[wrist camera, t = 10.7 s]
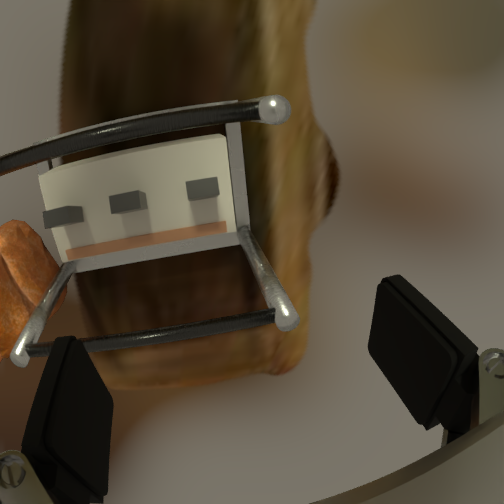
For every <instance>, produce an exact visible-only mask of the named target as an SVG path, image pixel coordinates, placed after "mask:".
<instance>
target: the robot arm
mask: <svg viewBox="0 0 504 504" xmlns="http://www.w3.org/2000/svg"><path fill="white" fill-rule="evenodd" d="M368 350H369V353H370V355H371V357H372V358H373V360H374V361H375V362H376V364H377V365H378V367H379V368H380V369H381V371H382V372H383V374H384V375H385V377H386V378H387V380H388V381H389V382H390V384H391V385H392V387H393V388H394V390H395V391H396V392H397V394H398V395H399V397H400V398H401V400H402V401H403V403H404V404H405V406H406V407H407V408H408V410H409V412H410V413H411V415H412V416H413V417H414V419H415V420H416V421H417V423H418V424H420V425H422V424H423V426H424V427H425V429H426V430H429V429H431V428H433V427H434V426H436V425H438V424H440V423H441V425H442V426H443V427H444V429H443V436H442V443H441V448H440V449H438V450H436V451H434V452H433V453H431V454H429V455H427V456H425V457H423V458H421V459H419V460H418V461H416V462H414V463H412V464H410V465H408V466H406V467H403V468H401V469H399V470H397V471H395V472H393V473H391V474H388V475H386V476H384V477H381V478H379V479H377V480H375V481H372V482H370V483H367V484H365V485H363V486H360V487H357V488H354V489H352V490H349V491H346V492H343V493H341V494H338V495H335V496H332V497H329V498H326V499H323V500H320V501H316V502H313V503H310V504H504V350H502V349H498V348H490V349H487V350H485V351H484V352H482V354H481V355H480V356H479V355H478V354H477V350H478V347H477V346H476V345H475V344H474V343H472V341H471V340H470V339H468V337H466V335H464V333H462V332H461V331H460V330H459V329H458V328H457V327H456V326H455V325H454V324H453V323H452V322H451V321H450V320H449V319H448V318H447V317H446V316H445V315H443V313H442V312H440V310H439V309H437V308H436V307H435V306H434V305H433V304H432V303H431V302H430V301H429V300H428V299H427V298H425V297H424V296H423V295H422V294H421V293H420V292H419V291H418V290H417V289H416V288H415V287H413V286H412V285H411V284H410V283H409V282H408V281H407V280H406V279H404V278H403V277H402V276H401V275H393V276H390V277H386V278H383V279H382V281H381V283H380V284H378V286H377V292H376V299H375V306H374V312H373V319H372V325H371V330H370V336H369V342H368ZM112 417H113V399H112V396H111V395H110V393H109V391H108V389H107V388H106V386H105V384H104V382H103V381H102V379H101V377H100V375H99V373H98V372H97V370H96V368H95V366H94V364H93V362H92V360H91V359H90V357H89V355H88V353H87V351H86V349H85V347H84V345H83V343H82V341H81V340H77V339H76V337H75V336H64V337H57V338H56V339H55V341H54V344H53V347H52V349H51V352H50V354H49V357H48V360H47V363H46V365H45V368H44V371H43V374H42V377H41V380H40V383H39V386H38V389H37V392H36V395H35V398H34V401H33V404H32V408H31V411H30V415H29V418H28V422H27V425H26V429H25V433H24V437H23V441H22V445H21V446H22V450H21V452H19V451H15V450H9V451H6V452H4V453H2V454H0V504H89V503H103V496H105V495H107V492H108V472H109V454H110V453H109V452H110V439H111V427H112Z"/></svg>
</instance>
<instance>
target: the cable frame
mask: <svg viewBox="0 0 504 504" xmlns="http://www.w3.org/2000/svg"><path fill="white" fill-rule="evenodd" d="M290 114H291V106H290V103H289V102H288V100H287V99H286V98H284V97H283V96H280V95H271V96H265V97H260V98H255V99H249V100H244V101H240V102H238V100H234V101H224V102H216V103H208V104H200V105H193V106H186V107H179V108H173V109H167V110H161V111H156V112H151V113H145V114H140V115H135V116H131V117H126V118H121V119H117V120H113V121H109V122H104V123H100V124H96V125H92V126H89V127H85V128H81V129H78V130H74V131H71V132H67V133H64V134H60V135H57V136H54V137H51V138H48V139H44V140H41V141H38V142H36V143H33V146H30V147H27V148H23V149H20V150H17V151H14V152H11V153H8V154H5V155H2V156H0V176H2V175H5V174H8V173H10V172H13V171H16V170H19V169H22V168H25V167H28V166H31V165H34V164H37V168H38V173H39V176H40V175H42V174H44V173H46V172H48V171H50V170H51V169H53V166H52V161H51V159H54V158H57V157H61V156H64V155H68V154H71V153H75V152H79V151H83V150H87V149H90V148H94V147H98V146H103V145H107V144H111V143H116V142H120V141H125V140H129V139H134V138H139V137H144V136H149V135H154V134H160V133H165V132H171V131H177V130H183V129H190V128H197V127H204V126H211V125H219V124H224V125H225V134H226V142H227V152H228V161H229V170H230V179H231V188H232V196H233V205H234V214H235V223H236V231H237V232H231V233H225V234H219V235H213V236H207V237H201V238H195V239H189V240H183V241H177V242H172V243H166V244H160V245H155V246H149V247H143V248H138V249H132V250H127V251H121V252H116V253H110V254H105V255H100V256H94V257H89V258H84V259H79V260H73V261H68V262H63V264H62V266H61V267H60V268H59V270H58V272H57V273H56V275H55V276H54V278H53V279H52V281H51V283H50V284H49V286H48V287H47V289H46V291H45V292H44V294H43V295H42V297H41V299H40V300H39V302H38V304H37V306H36V307H35V309H34V311H33V312H32V314H31V316H30V318H29V319H28V321H27V323H26V325H25V327H24V329H23V330H22V332H21V334H20V336H19V338H18V340H17V342H16V344H15V345H14V347H13V349H12V351H11V353H10V359H11V361H12V362H13V363H14V364H15V365H16V366H18V367H22V368H24V367H26V366H27V364H28V362H29V359H30V357H43V356H49V354H50V352H51V349H52V347H53V344H54V341H53V342H43V343H37V341H38V339H39V337H40V335H41V333H42V331H43V329H44V327H45V325H46V323H47V321H48V319H49V317H50V315H51V313H52V311H53V309H54V307H55V305H56V303H57V301H58V299H59V297H60V295H61V294H62V292H63V290H64V288H65V286H66V284H67V283H68V281H69V279H70V277H71V275H72V274H73V273H78V272H84V271H89V270H95V269H100V268H106V267H112V266H117V265H123V264H128V263H134V262H140V261H146V260H151V259H157V258H163V257H169V256H174V255H180V254H186V253H192V252H198V251H203V250H209V249H215V248H221V247H227V246H233V245H239V244H241V246H242V248H243V250H244V253H245V255H246V257H247V260H248V262H249V264H250V266H251V269H252V271H253V273H254V275H255V278H256V280H257V282H258V284H259V287H260V289H261V291H262V293H263V296H264V298H265V300H266V302H267V305H268V307H269V308H268V309H263V310H258V311H253V312H248V313H243V314H237V315H232V316H227V317H221V318H216V319H210V320H204V321H198V322H192V323H186V324H180V325H174V326H168V327H161V328H155V329H148V330H141V331H134V332H127V333H120V334H113V335H105V336H97V337H89V338H80V339H77V340H81V341H82V343H83V345H84V347H85V349H86V351H87V353H88V352H97V351H106V350H115V349H123V348H131V347H138V346H145V345H153V344H159V343H166V342H173V341H179V340H185V339H191V338H197V337H203V336H209V335H215V334H220V333H226V332H231V331H236V330H242V329H247V328H252V327H257V326H262V325H267V324H271V323H276V325H277V327H278V328H279V329H280V330H281V331H291V330H293V329H294V328H296V327H297V326H298V324H299V322H300V318H299V315H298V314H297V312H296V310H295V308H294V306H293V305H292V303H291V301H290V299H289V298H288V296H287V294H286V292H285V290H284V289H283V287H282V285H281V283H280V282H279V280H278V278H277V276H276V274H275V273H274V271H273V269H272V267H271V266H270V264H269V262H268V260H267V259H266V257H265V255H264V253H263V251H262V250H261V248H260V246H259V244H258V243H257V241H256V239H255V237H254V236H253V234H252V232H251V230H250V220H249V210H248V200H247V190H246V180H245V169H244V159H243V149H242V139H241V129H240V122H245V121H253V122H260V123H267V124H274V125H278V124H282V123H284V122H285V121H287V120H288V118H289V117H290Z"/></svg>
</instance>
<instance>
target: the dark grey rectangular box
mask: <svg viewBox="0 0 504 504" xmlns="http://www.w3.org/2000/svg"><path fill="white" fill-rule="evenodd" d="M109 203H110V210H111V214H124V213H129V212H134V211H139V210H145V209H148V206H147V199H146V193H144V192H142V191H139V190H136V191H131V192H126V193H121V194H116V195H112V196H109Z"/></svg>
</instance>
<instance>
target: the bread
mask: <svg viewBox="0 0 504 504" xmlns="http://www.w3.org/2000/svg"><path fill="white" fill-rule="evenodd" d="M58 270H59V266H58V264H57V263H56V261H55V260H54V259H53V257H52V256H51V254H50V253H49V251H48V250H47V248H46V247H45V245H44V243H43V241H42V239H41V237H40V236H39V235H38V234H37V233H36V232H35V231H34V230H33V229H32V228H31V227H30V226H29V225H28V224H27V223H26V222H24V221H18V220H11V221H9V222H7V223H5V224H3V225H2V226H1V227H0V362H1V361H2V359H3V358H9V357H10V353H11V351H12V349H13V347H14V345H15V344H16V342H17V340H18V338H19V336H20V334H21V332H22V330H23V329H24V327H25V325H26V323H27V321H28V319H29V318H30V316H31V314H32V312H33V311H34V309H35V307H36V306H37V304H38V302H39V300H40V299H41V297H42V295H43V294H44V292H45V291H46V289H47V287H48V286H49V284H50V283H51V281H52V279H53V278H54V276H55V275H56V273H57V272H58ZM66 293H67V284H66V286H65V288H64V290H63V292H62V294H61V295H60V297H59V299H58V301H57V303H56V305H55V307H54V309H53V311H52V313H51V315H50V317H49V319H50V318H51V317H52V316H53V315H54V314H55V313H56V312H57V311H58V310H59V308H60V307H61V305H62V303H63V302H64V299H65V296H66ZM49 319H48V320H49Z"/></svg>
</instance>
